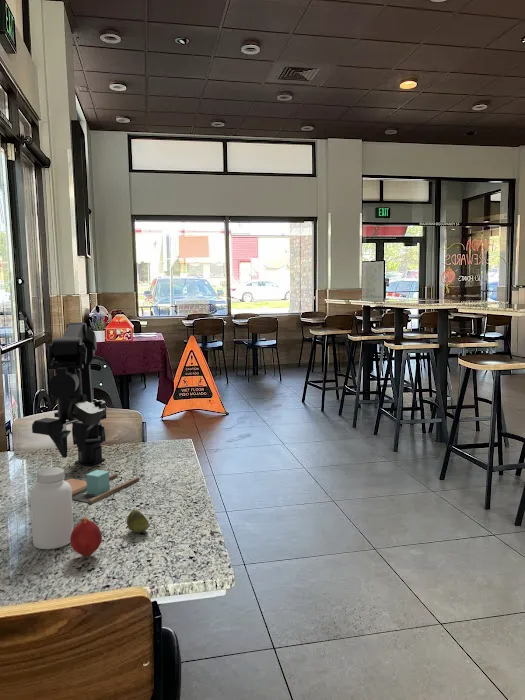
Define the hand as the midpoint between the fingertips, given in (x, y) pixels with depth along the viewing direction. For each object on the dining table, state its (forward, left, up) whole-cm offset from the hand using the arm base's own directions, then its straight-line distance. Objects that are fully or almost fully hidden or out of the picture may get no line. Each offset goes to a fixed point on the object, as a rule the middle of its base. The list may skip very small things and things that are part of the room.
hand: (72, 454), depth 135 cm
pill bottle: (+12, -18, -12) cm, 25 cm away
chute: (0, +10, -12) cm, 16 cm away
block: (0, +8, -12) cm, 15 cm away
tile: (-9, +7, -12) cm, 16 cm away
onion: (+23, -20, -12) cm, 33 cm away
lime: (+25, -7, -12) cm, 29 cm away
